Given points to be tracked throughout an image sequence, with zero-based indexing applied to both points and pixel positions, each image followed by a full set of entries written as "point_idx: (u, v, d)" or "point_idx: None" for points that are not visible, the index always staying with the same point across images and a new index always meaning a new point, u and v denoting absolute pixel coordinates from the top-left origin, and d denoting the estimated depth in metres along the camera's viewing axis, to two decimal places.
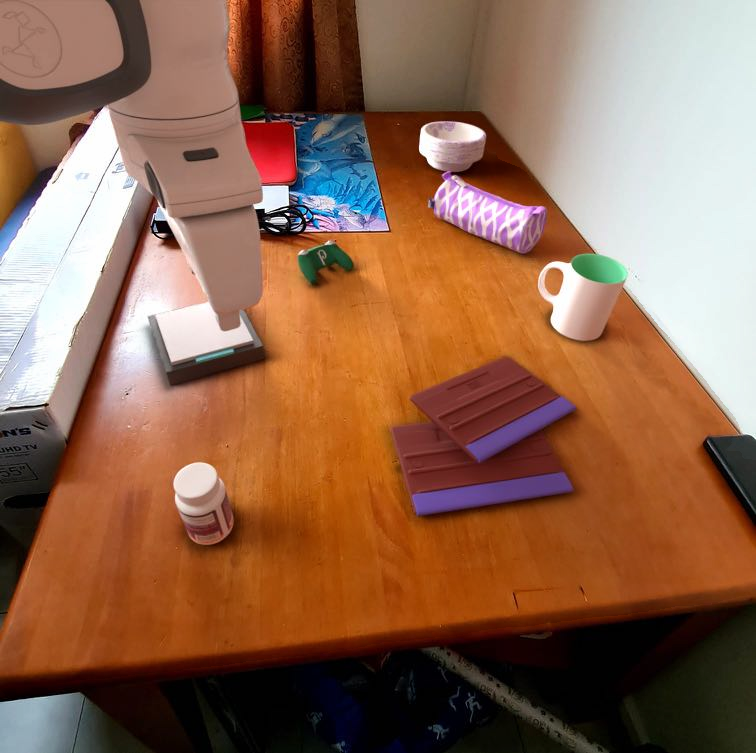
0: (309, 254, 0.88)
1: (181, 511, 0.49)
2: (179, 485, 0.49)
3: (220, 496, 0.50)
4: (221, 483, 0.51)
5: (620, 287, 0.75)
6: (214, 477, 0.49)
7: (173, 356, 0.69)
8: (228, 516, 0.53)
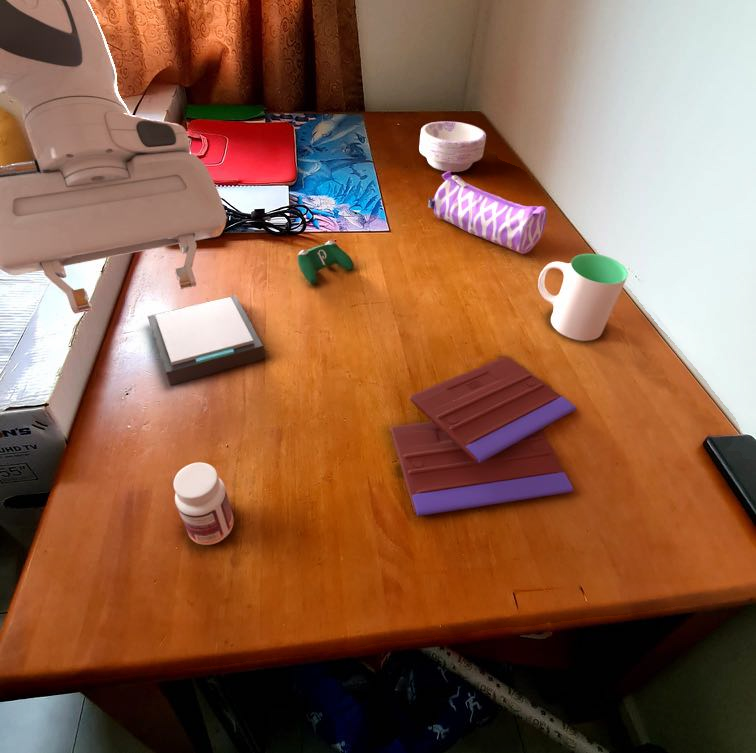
0: (309, 254, 0.88)
1: (181, 511, 0.49)
2: (179, 485, 0.49)
3: (220, 496, 0.50)
4: (221, 483, 0.51)
5: (620, 287, 0.75)
6: (214, 477, 0.49)
7: (173, 356, 0.69)
8: (228, 516, 0.53)
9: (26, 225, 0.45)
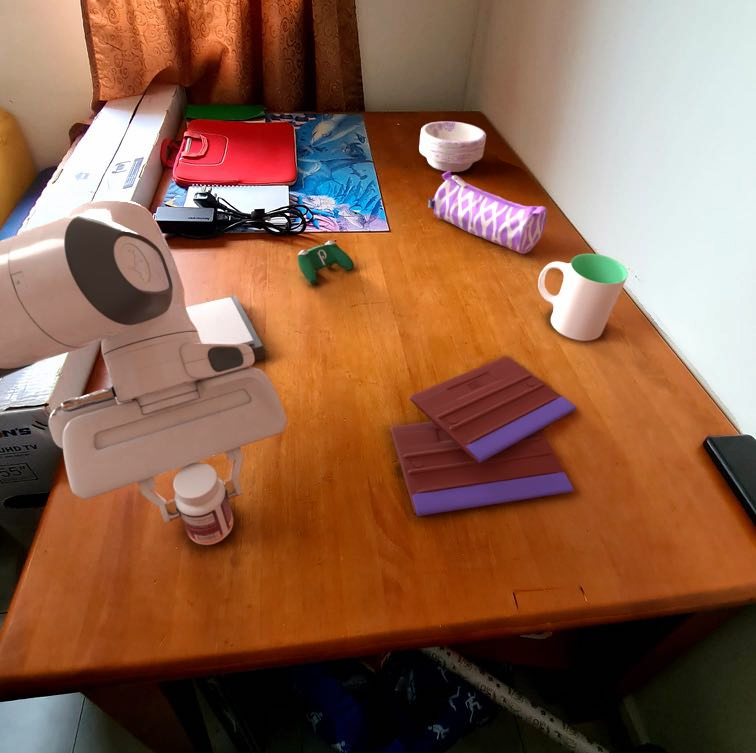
0: (309, 254, 0.88)
1: (181, 511, 0.49)
2: (179, 485, 0.49)
3: (219, 496, 0.50)
4: (221, 483, 0.51)
5: (620, 287, 0.75)
6: (214, 477, 0.49)
7: None
8: (227, 516, 0.53)
9: (106, 458, 0.47)
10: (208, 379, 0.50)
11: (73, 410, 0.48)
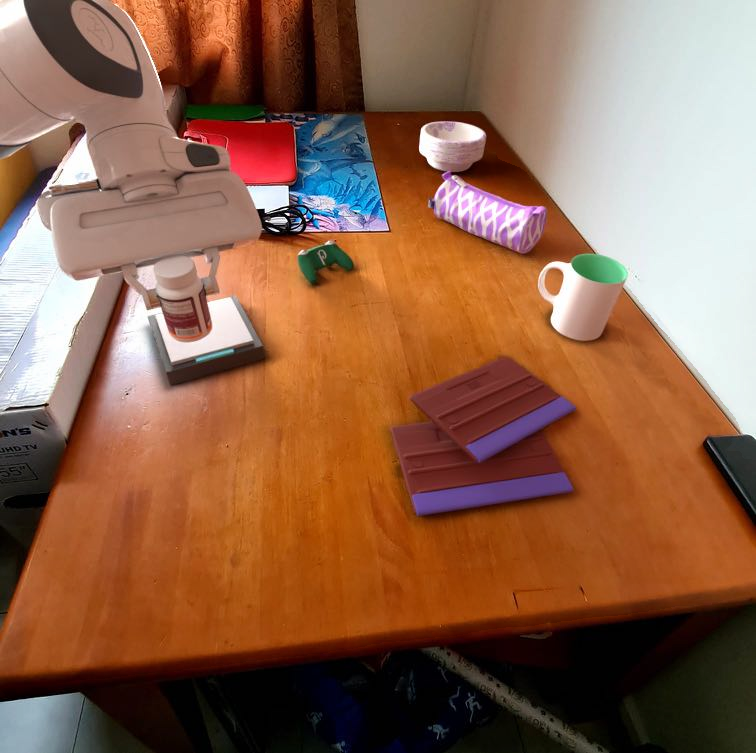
0: (309, 254, 0.88)
1: (161, 297, 0.53)
2: (158, 269, 0.52)
3: (197, 285, 0.54)
4: (199, 277, 0.55)
5: (620, 287, 0.75)
6: (191, 264, 0.53)
7: (173, 356, 0.69)
8: (206, 314, 0.56)
9: (91, 237, 0.51)
10: (186, 174, 0.53)
11: (60, 195, 0.51)
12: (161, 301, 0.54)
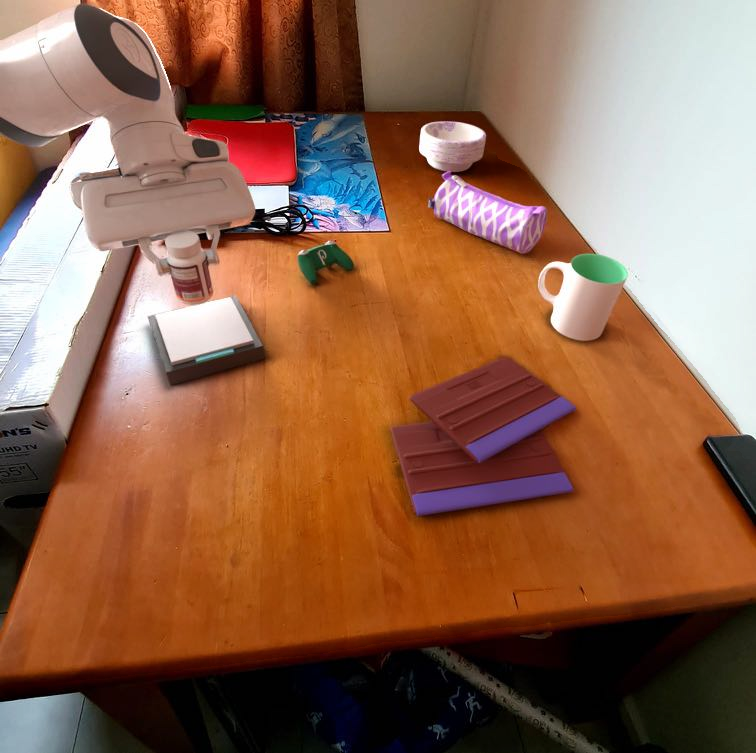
0: (309, 254, 0.88)
1: (171, 265, 0.64)
2: (169, 241, 0.63)
3: (201, 256, 0.65)
4: (202, 249, 0.66)
5: (620, 287, 0.75)
6: (196, 238, 0.64)
7: (173, 356, 0.69)
8: (208, 281, 0.67)
9: (114, 214, 0.62)
10: (192, 164, 0.64)
11: (88, 180, 0.62)
12: (171, 268, 0.65)
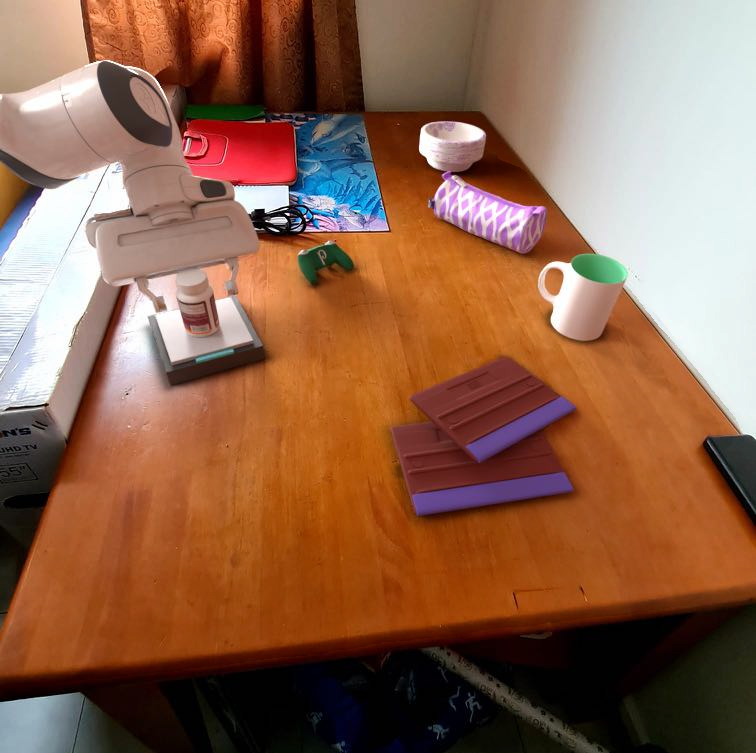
0: (309, 254, 0.88)
1: (180, 301, 0.68)
2: (179, 279, 0.67)
3: (208, 292, 0.69)
4: None
5: (620, 287, 0.75)
6: (204, 276, 0.68)
7: (173, 356, 0.69)
8: (215, 314, 0.71)
9: (126, 253, 0.65)
10: (200, 203, 0.68)
11: (102, 220, 0.66)
12: (180, 304, 0.68)
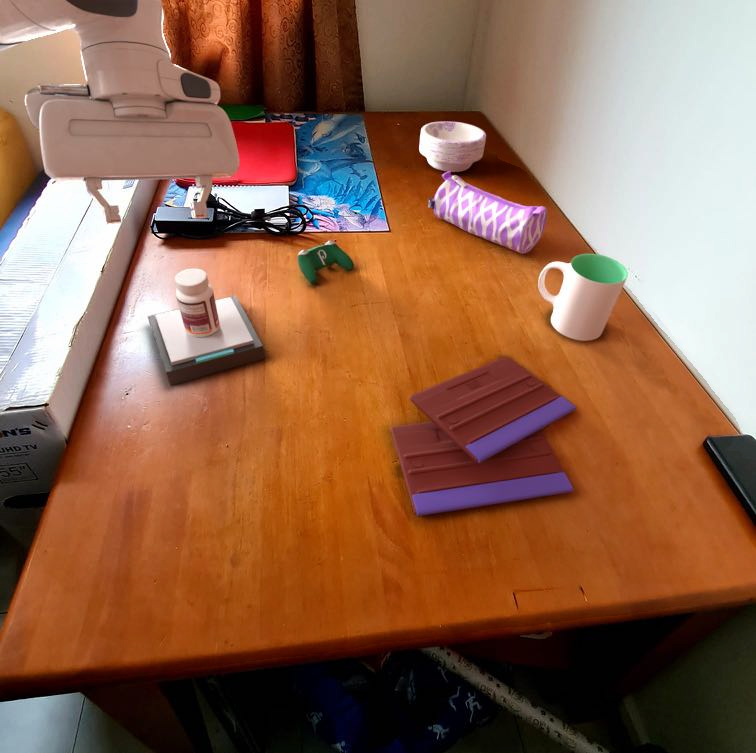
0: (309, 254, 0.88)
1: (180, 301, 0.68)
2: (179, 279, 0.67)
3: (208, 292, 0.69)
4: (210, 286, 0.70)
5: (620, 287, 0.75)
6: (204, 276, 0.68)
7: (173, 356, 0.69)
8: (215, 314, 0.71)
9: (79, 145, 0.53)
10: (177, 102, 0.57)
11: (49, 94, 0.53)
12: (180, 304, 0.68)
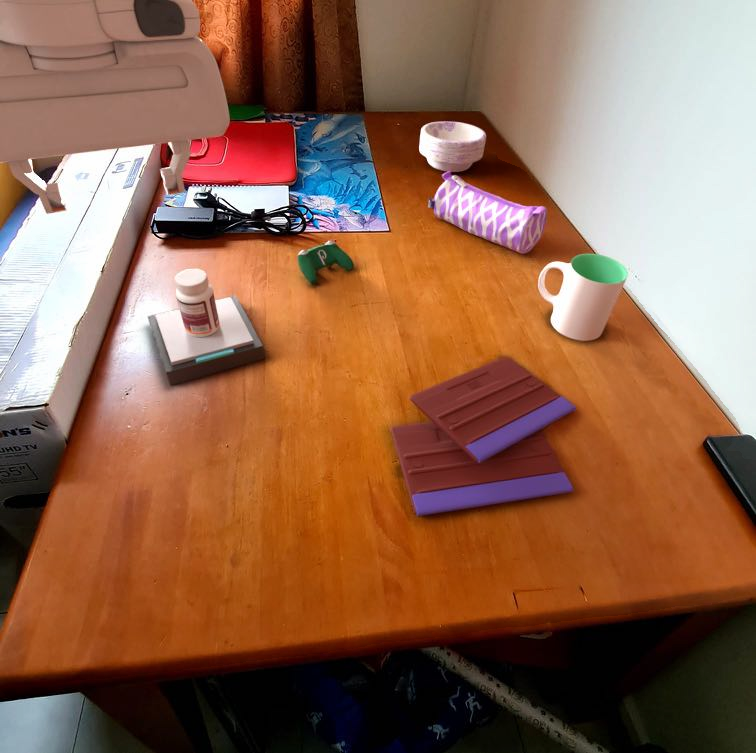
0: (309, 254, 0.88)
1: (180, 301, 0.68)
2: (179, 279, 0.67)
3: (208, 292, 0.69)
4: (210, 286, 0.70)
5: (620, 287, 0.75)
6: (204, 276, 0.68)
7: (173, 356, 0.69)
8: (215, 314, 0.71)
9: None
10: (132, 42, 0.36)
11: None
12: (180, 304, 0.68)
